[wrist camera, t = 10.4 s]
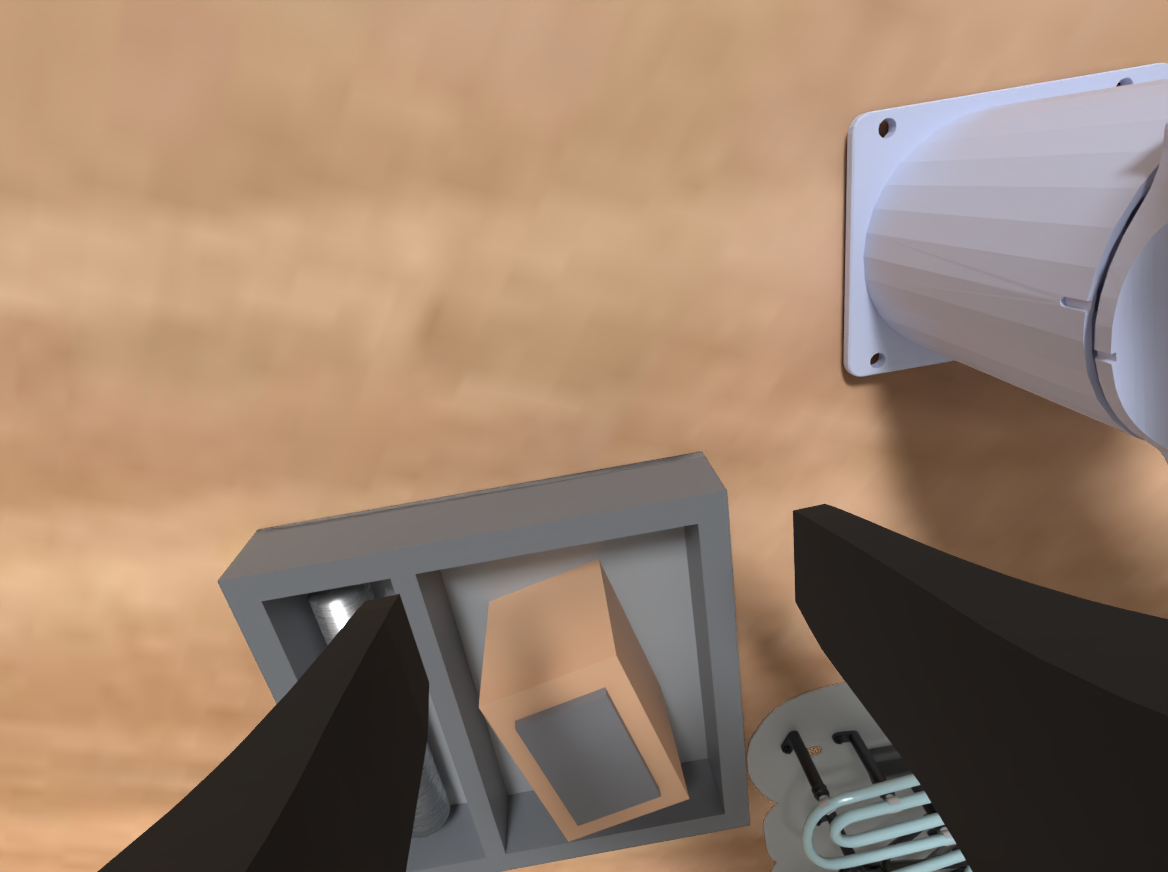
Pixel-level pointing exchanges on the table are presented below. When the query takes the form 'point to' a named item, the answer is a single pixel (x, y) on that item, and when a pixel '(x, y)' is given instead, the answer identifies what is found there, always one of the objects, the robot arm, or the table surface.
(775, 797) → the neon sign
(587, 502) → the grey divided tray
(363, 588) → the rod
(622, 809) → the block
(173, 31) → the table surface
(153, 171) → the table surface
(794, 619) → the table surface
